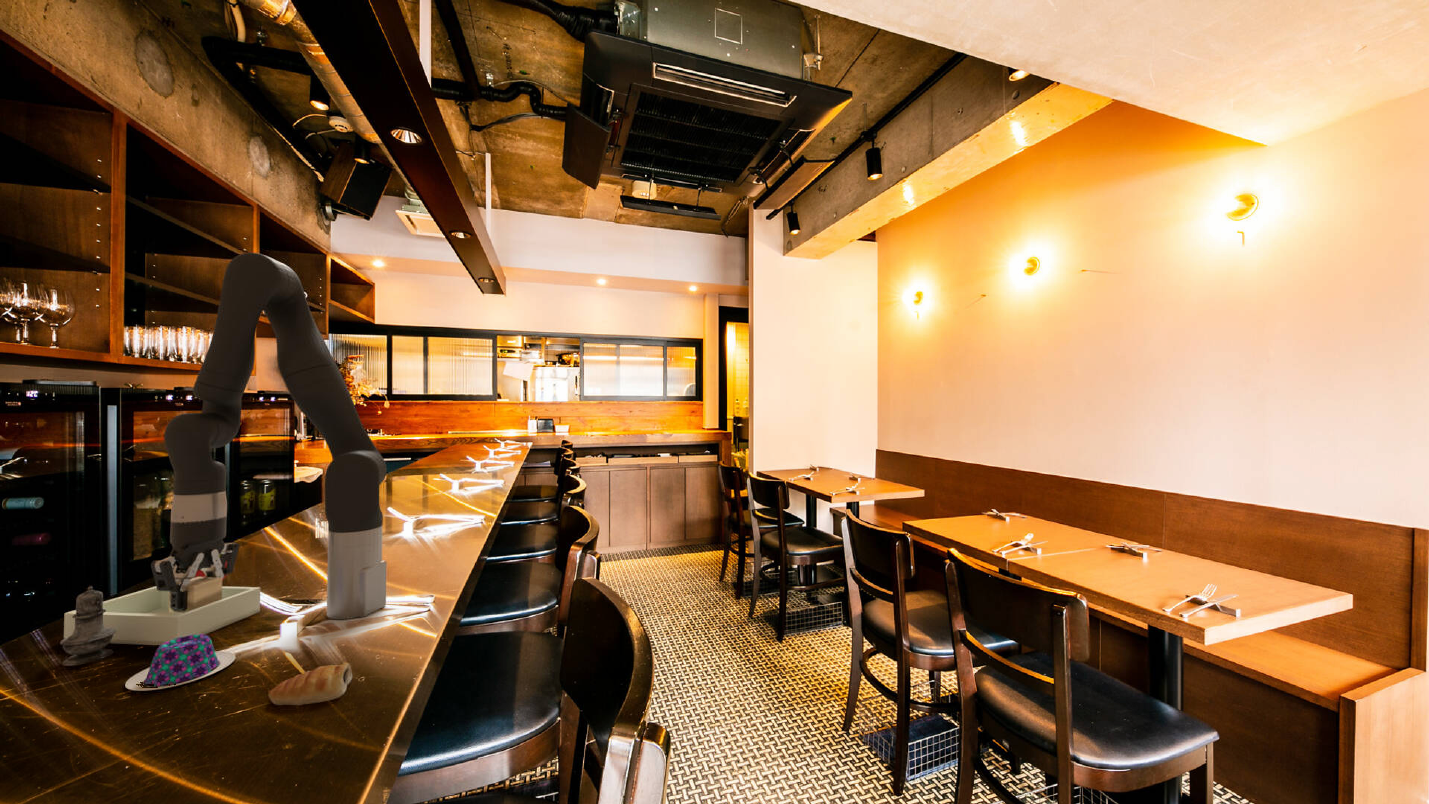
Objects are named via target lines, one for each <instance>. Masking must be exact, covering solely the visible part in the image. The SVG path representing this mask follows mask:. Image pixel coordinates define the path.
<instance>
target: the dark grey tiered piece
mask: <svg viewBox="0 0 1429 804" xmlns="http://www.w3.org/2000/svg"><path fill="white" fill-rule="evenodd" d="M86 589H87V590H86V591H84V592H82V593H81V594H79V595H78V596H77V597H76V600H75V601H76V602H75V610H76V614H75V615H73V616H72V618H75V629H74V632H73V634H72V635H71V636H70V637H68V638H65V639H64V638H63V639H62V640H61V641H60V642H59V644H60V645H61V646H62V649H63V650H64V652H65V653H66V654H69V655H71V656H69V657H68V658H66V659H65V660H63V661H62V665H63V666H68V667H69V666H72V667H73V666H79V665H83V664H89V663H92V662H95V661H99V660H102V659H105V658H107V657H108V656H110V655H112V654H113V653H114V651H113V650H112V649H108V648H105V647H106V646H108V645H109V644H111V643H110V641H111V640H112V638H113V634H114V633H115V632H116V630H115V629H107V628H105V627H104V624H103V613H104V612H106V610H105V609H103V602H104V594H103V592H102V591H99V590H95V589H94V587H93V586H92V585H89V586H88V587H87V588H86Z"/></svg>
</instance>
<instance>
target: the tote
mask: <svg viewBox="0 0 1429 804" xmlns="http://www.w3.org/2000/svg"><path fill="white" fill-rule="evenodd" d="M103 609H105V610H106V612H104V613H103V624H104V627H105V628H107V629H115V630H116V632H115V633H114V634H113V638H112V640H111V641H110V643H109V644H122V645H123V644H124V645H127V644H128V645H146V646H147V645H148V646H160V645H162V644H163V643H165V642H168V641H171V640H173V639H176V638H179V637H185V636H188V635H195V634H196V635H200V634H205V635H207V634H209V633H211V632H214V631H217V630H219V629H221V628H223V627H226V626H228V625H229V626H230V625H231V624H234V623H236V622H239V621H241V620H243V619H246V618H248V617H251V616H253V615H256V614H258V613H260V612H261V587H253V586H226V585H225V586H223V585H222V600H219V601H216V602H213V603H211V604H208V605H205V606H202V607H199V608H197V609H194V610H191V611H188V612H185V613H174V612H169V591H158V590H157V587H156V585H155V586H151V587H149V588H146V589H141V590H138V591H136V592H132V593H128V594H125V595H122V596H119V597H115V598H111V599H108V600H105V601H104V600H103ZM75 614H76V609H75V610H71V611H68V612H65V613H64V618H63V619H64V621H63V626H64V627H63V640H64V639H65V638H68V637H70V636H71V635H72V634H73V632H74V629H75V618H72V616H73V615H75Z"/></svg>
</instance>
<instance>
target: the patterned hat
mask: <svg viewBox="0 0 1429 804" xmlns="http://www.w3.org/2000/svg"><path fill="white" fill-rule="evenodd" d="M158 646H159V647H158V648H157V649H156V651H155V652H154V655H153V658H152V660H151V664H150V666H149V667H148V668H146V669H143V670H141V671H139V672H138V673H136V674H134V675H132V676H130V678H128V679H127V680H126V682H125V684H124V686H125V688H126V689H128V690H131V691H154V690H155V691H156V690H162V689H167V688H172V687H177V686H182V685H184V684H189V683H191V682H195V681H197V680H200V679H204V678H206V677H208V676H211V675H213V674H215V673H217V672H219V671H221V670H223V669H225V668H227V667H228V666H229V665H231V664H232V663H233V662H234V661H235V659H236V655H235V654H234V653H233V652H230V651H223V650H221V651H220V650H219V651H218V650H217V651H216V650H215V648H214V645H213V642H212V639H211V638H210V636H209V635H207V634H200V635H196V634H195V635H188V636H185V637H179V638H176V639H173V640H171V641H168V642H165V643H163V644H162V645H158ZM212 669H213V670H212ZM140 682H143V683H144V685H145V684H154V686H153V687H156V686H157V687H158V688H142V687H143V686H142V687H141V686H140V685H139V686H138V685H136V684H141V683H140ZM166 684H168V685H166ZM174 684H176V685H174ZM164 685H165V686H164ZM169 685H170V686H169Z"/></svg>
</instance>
